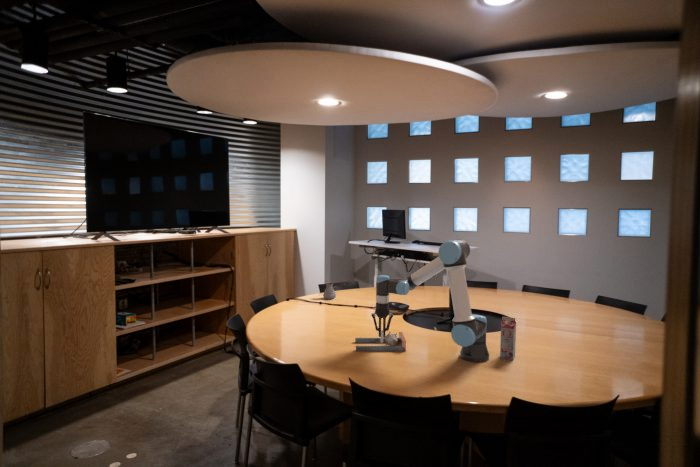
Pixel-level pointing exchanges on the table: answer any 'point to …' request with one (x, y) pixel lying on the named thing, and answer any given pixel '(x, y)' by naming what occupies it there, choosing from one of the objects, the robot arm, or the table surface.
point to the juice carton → (508, 338)
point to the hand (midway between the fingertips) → (381, 342)
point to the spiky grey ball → (391, 339)
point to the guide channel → (381, 348)
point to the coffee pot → (330, 291)
